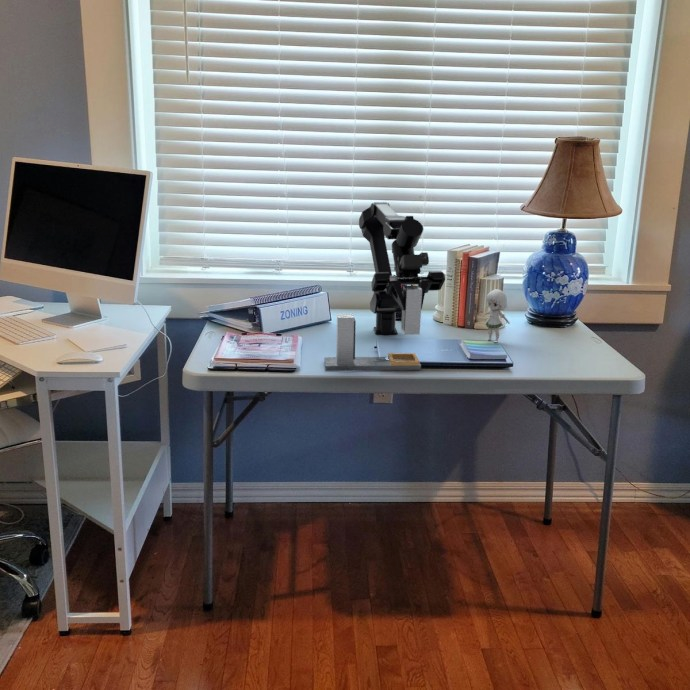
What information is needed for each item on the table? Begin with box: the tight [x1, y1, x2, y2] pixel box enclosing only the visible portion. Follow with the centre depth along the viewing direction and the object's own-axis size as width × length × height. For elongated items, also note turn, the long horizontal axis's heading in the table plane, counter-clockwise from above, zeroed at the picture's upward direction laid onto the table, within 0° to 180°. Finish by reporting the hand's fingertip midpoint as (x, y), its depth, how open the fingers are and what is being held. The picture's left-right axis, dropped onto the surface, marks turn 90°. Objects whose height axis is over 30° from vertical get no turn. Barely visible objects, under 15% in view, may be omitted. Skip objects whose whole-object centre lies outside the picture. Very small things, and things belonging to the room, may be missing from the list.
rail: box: [324, 313, 422, 371], centre depth 196 cm, size 7×24×13 cm, turn 94°
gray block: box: [400, 285, 422, 336], centre depth 201 cm, size 4×4×12 cm
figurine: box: [481, 288, 511, 343], centre depth 219 cm, size 10×6×15 cm, turn 40°
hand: (412, 309), depth 200 cm, fingers closed on gray block, 4 cm apart
